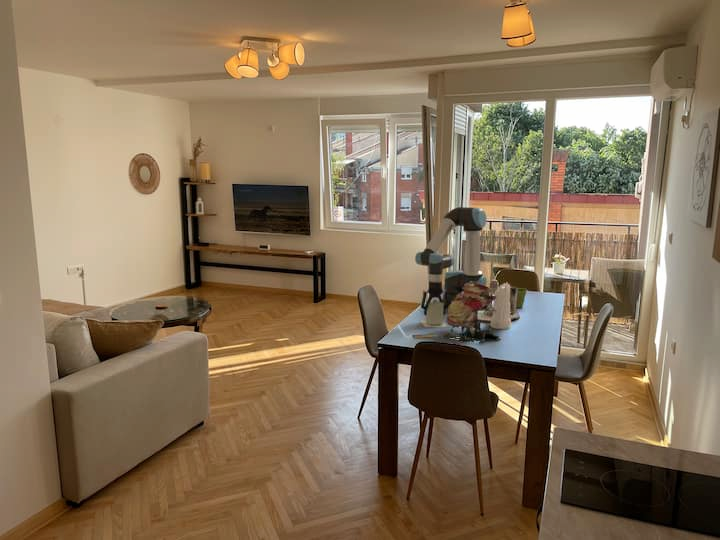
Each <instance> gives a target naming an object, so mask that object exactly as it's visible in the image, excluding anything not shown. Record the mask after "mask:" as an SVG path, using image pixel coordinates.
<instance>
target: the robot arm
mask: <svg viewBox="0 0 720 540" xmlns="http://www.w3.org/2000/svg"><path fill="white" fill-rule="evenodd" d="M486 226H487V214H486V211H485V210H484V209H482V208H481V207H480V208H479V207H463V206H458V207H455V208H453V209H451V210H449V211H448V212H447V213H446V214H445V215H444V216H443V218H442V219H441V222H440V225H439V226H438V228H437V230H436V231H435V233H434V235H433V236H432V238H431V239H430V240H429V242H428V243H427V245H426V247H425V249H424V250H422V251H418V252H417V253H416V254H415V257H414V261H415V263H416V264H417V265H418V266H419V265H420V266H425V267H428V288H427V290H423V291H422V299H421V303H420V308H421V309H423V315H424V316H425V318H424V319H425V320H424V321H428V309H427V308H428V303H430V302H431V300H433V298H434V299H435V298H436V299H437V300H439V301H440V302H443V303H444V310H443V316H445V315H446V309H448V307H449V306H450V304H451V303H452V302H451V301H453V299H455V298H456V295H458V294H461V293H463V292H464V290H463V287H465V286H464V285H465V284H467V283H470V282H471V281H474V282H477V283H479V284H481V285H485V286H486V287H487V277H486V276H484V271H482V270H481V232H483V230H484V228H485V227H486ZM457 227H462V229H463V232H465V271H464V270H459V269H458V270H457V269H456V270H449V271H448V270H447V271H446V272H445V274H444V284H443V270H444V269H445V270H446V269H448V268H451V267H453V266H454V264H455V258H454V256H453V255H452V254H450V253H445V254H443V253H441V252H439V251H440V250H441V248H442V246H443V245H444V243H445V242H446V240H447V238H448V237H449V235H450V234H451V232H452V231H455V229H456V228H457ZM443 285H444V289H443ZM427 295H428V299H427ZM441 295H443V296H441ZM426 300H427V302H426Z"/></svg>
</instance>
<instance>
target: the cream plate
mask: <svg viewBox="0 0 720 540" xmlns="http://www.w3.org/2000/svg"><path fill="white" fill-rule="evenodd" d="M420 323H422V325H423V326H424V327H425V328H444V327H447V328H448V327H449V325H447V323H445V322H444V321H443V324H436V325H429V324H428V323H427V322H426V320H420Z"/></svg>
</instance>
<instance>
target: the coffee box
mask: <svg viewBox="0 0 720 540" xmlns="http://www.w3.org/2000/svg"><path fill="white" fill-rule="evenodd" d="M517 291H518V286H513V285H510V312H511V313H514V312H515V313H516V312H517V308H516V304H517ZM511 313H510V314H511ZM515 313H514V314H515Z"/></svg>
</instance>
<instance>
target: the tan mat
mask: <svg viewBox="0 0 720 540" xmlns="http://www.w3.org/2000/svg"><path fill="white" fill-rule="evenodd" d="M412 337H413V338H414V339H415V340H416V339H435V338H436V336H435V335H434V334H413V335H412Z"/></svg>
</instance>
